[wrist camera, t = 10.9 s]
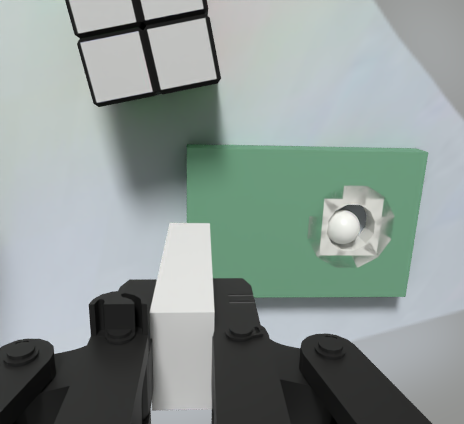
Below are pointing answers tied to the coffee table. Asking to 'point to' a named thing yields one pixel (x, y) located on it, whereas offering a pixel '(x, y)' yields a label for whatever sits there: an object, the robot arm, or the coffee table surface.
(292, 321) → the coffee table surface
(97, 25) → the puzzle cube
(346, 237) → the ball
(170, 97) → the coffee table surface
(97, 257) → the coffee table surface
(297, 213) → the mat
